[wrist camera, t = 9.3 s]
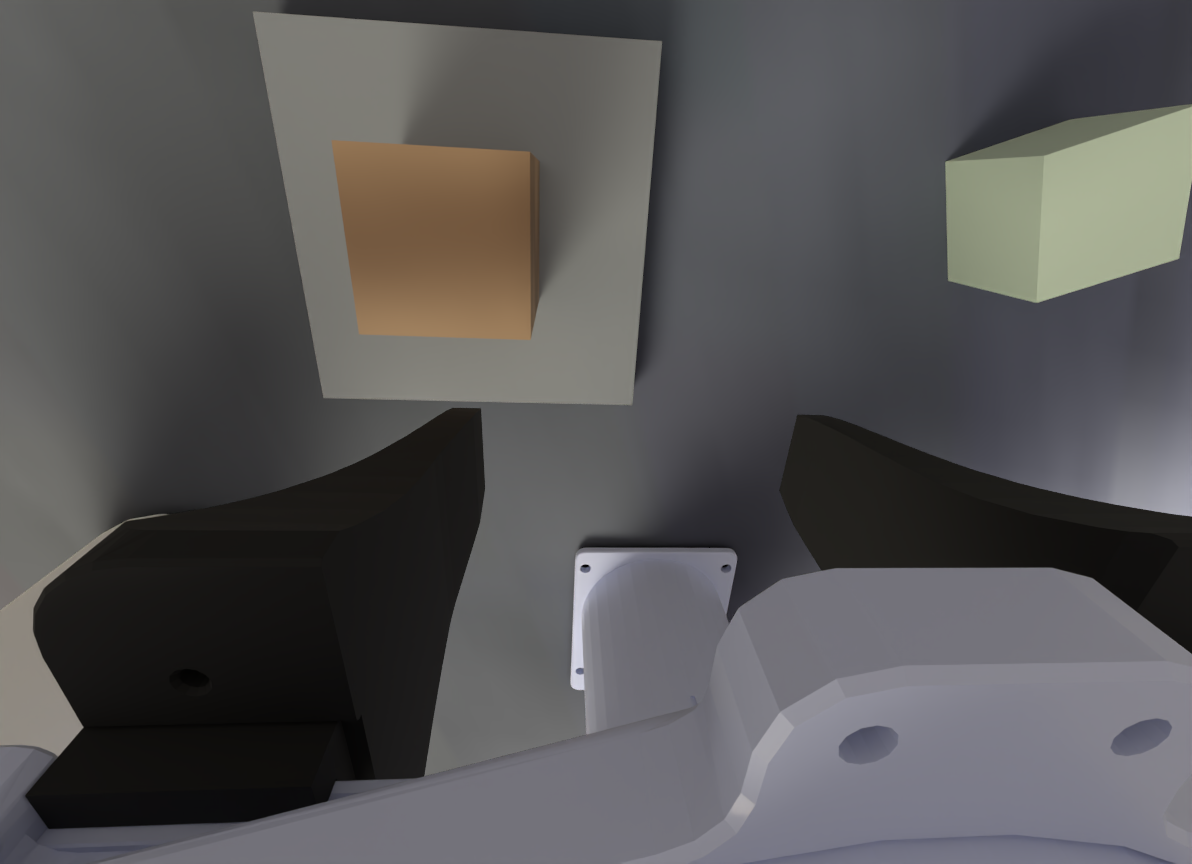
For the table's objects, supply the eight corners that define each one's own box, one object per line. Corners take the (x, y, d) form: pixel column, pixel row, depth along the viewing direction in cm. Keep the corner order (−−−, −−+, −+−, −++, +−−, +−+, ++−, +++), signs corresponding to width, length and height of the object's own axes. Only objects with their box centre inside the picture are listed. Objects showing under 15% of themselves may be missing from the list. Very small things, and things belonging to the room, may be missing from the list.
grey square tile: (628, 391, 23) (632, 405, 21) (338, 384, 22) (323, 398, 20) (654, 52, 17) (662, 40, 16) (277, 25, 17) (252, 11, 15)
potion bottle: (72, 506, 23) (-1059, 1245, 7) (266, 500, 24) (-381, 1184, 7) (141, 643, 27) (-507, 1348, 11) (308, 637, 27) (-68, 1303, 11)
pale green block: (1059, 244, 21) (1178, 258, 17) (946, 280, 21) (1036, 302, 17) (1068, 119, 19) (1204, 102, 15) (943, 161, 19) (1043, 155, 15)
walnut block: (539, 299, 19) (530, 340, 14) (412, 295, 19) (358, 334, 14) (539, 161, 17) (529, 151, 12) (399, 153, 17) (331, 140, 12)
